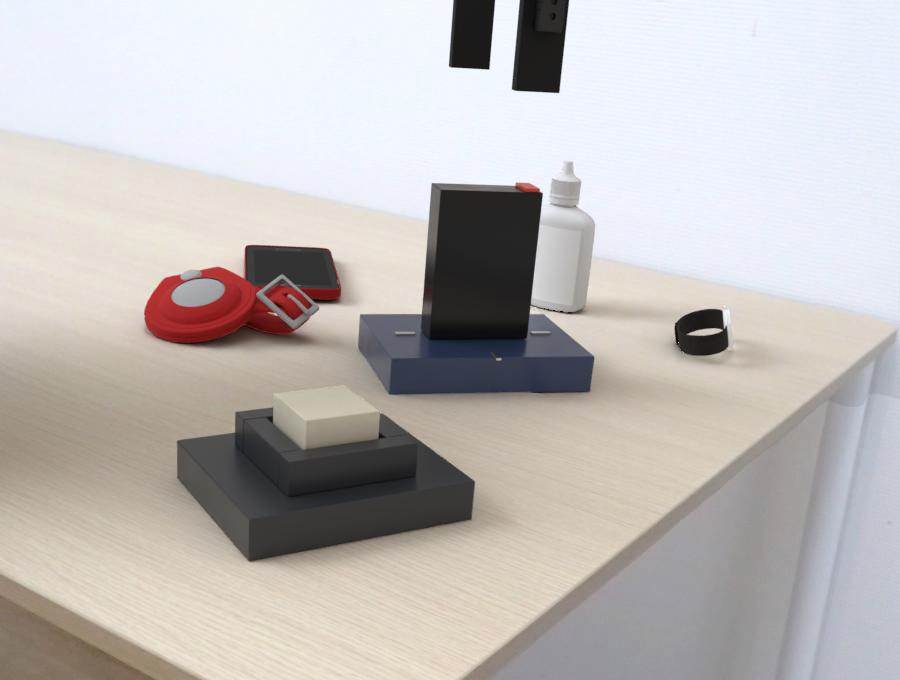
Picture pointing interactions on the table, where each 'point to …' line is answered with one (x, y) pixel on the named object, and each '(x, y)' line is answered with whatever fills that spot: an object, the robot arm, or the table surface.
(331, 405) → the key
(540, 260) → the eye dropper bottle
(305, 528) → the stepped push button
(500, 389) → the navy base plate
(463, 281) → the black upright rectangular block
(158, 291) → the tracker holder
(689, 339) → the watch
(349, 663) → the table surface
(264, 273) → the cell phone
